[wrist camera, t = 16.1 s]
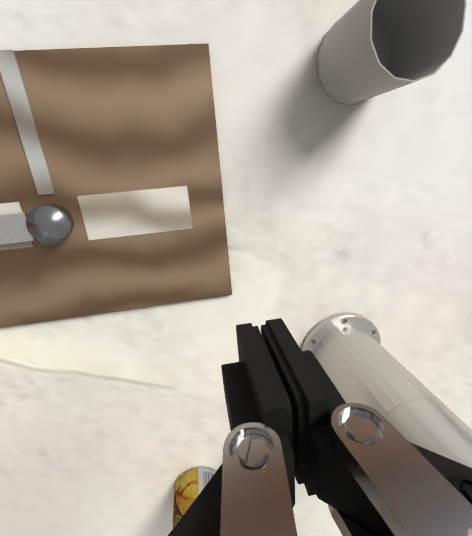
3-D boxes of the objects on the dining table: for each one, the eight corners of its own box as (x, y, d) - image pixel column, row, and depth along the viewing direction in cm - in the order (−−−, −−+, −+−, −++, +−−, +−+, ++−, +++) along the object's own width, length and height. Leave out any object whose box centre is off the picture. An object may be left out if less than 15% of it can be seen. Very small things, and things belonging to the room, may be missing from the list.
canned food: (166, 493, 50) (160, 587, 39) (188, 461, 49) (188, 550, 38) (206, 502, 53) (211, 593, 42) (228, 472, 51) (240, 558, 40)
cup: (302, 73, 32) (349, 36, 23) (346, -4, 31) (416, -77, 21) (357, 119, 35) (420, 102, 26) (401, 50, 33) (485, 6, 24)
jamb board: (231, 292, 40) (234, 301, 37) (-81, 337, 35) (-101, 350, 33) (207, 45, 30) (209, 35, 28) (-228, 62, 25) (-272, 51, 23)
